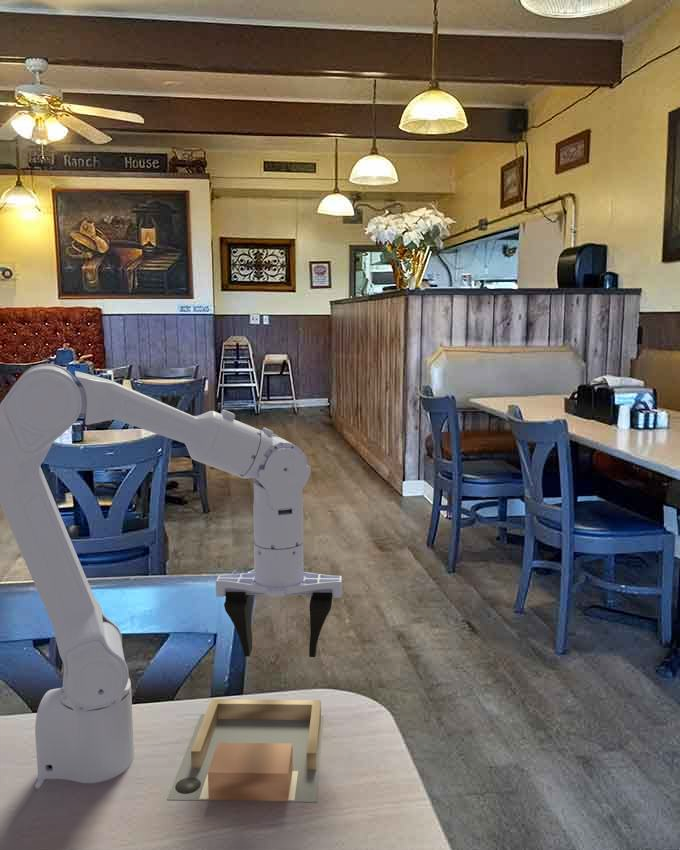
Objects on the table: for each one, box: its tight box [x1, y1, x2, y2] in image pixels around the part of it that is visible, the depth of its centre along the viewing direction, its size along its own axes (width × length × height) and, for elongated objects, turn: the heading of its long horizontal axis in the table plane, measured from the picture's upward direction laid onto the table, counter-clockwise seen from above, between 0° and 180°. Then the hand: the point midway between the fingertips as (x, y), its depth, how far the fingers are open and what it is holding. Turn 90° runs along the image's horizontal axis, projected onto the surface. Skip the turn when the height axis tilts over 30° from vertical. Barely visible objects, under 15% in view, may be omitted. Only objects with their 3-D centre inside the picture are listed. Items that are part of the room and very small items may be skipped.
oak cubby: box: [191, 698, 322, 770], centre depth 80 cm, size 13×10×2 cm
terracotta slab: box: [208, 743, 293, 802], centre depth 72 cm, size 8×5×3 cm, turn 89°
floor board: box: [166, 713, 324, 803], centre depth 78 cm, size 15×16×1 cm
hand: (280, 652), depth 82 cm, fingers open, 7 cm apart
